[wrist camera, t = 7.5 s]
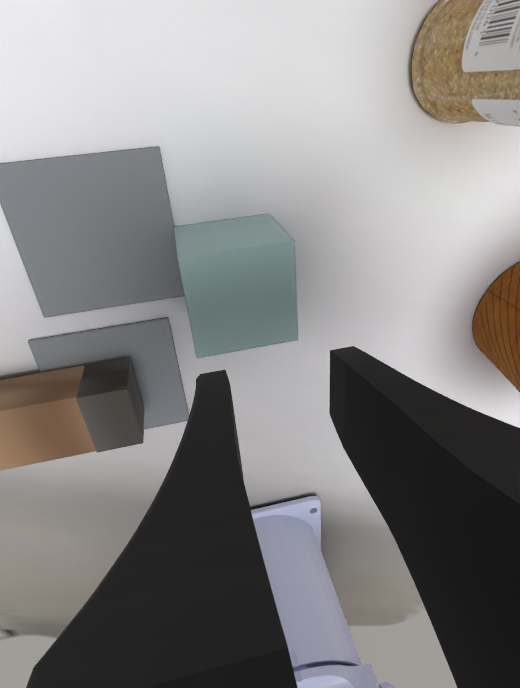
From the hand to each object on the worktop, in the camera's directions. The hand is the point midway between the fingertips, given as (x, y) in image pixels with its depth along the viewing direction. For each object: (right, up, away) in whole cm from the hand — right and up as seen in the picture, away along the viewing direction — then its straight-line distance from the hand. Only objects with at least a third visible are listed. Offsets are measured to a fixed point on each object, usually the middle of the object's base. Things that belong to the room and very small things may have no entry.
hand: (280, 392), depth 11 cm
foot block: (-2, +5, +8) cm, 10 cm away
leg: (-12, -2, +9) cm, 15 cm away
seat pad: (-7, +6, +6) cm, 11 cm away
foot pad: (-7, -1, +10) cm, 12 cm away
